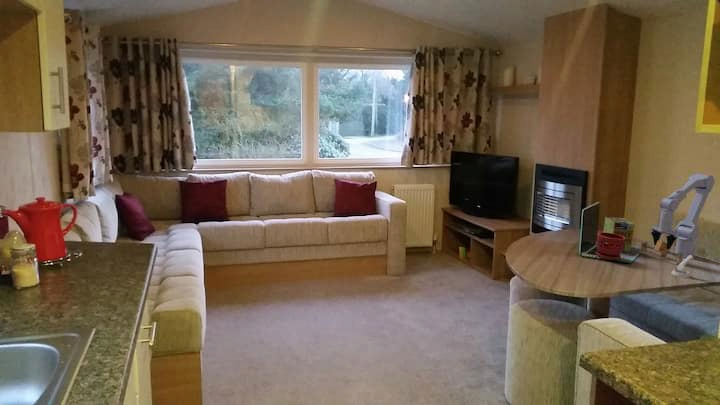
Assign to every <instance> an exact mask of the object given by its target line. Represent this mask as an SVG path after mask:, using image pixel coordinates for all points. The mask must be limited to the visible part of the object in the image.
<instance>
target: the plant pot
mask: <svg viewBox="0 0 720 405" xmlns="http://www.w3.org/2000/svg"><path fill="white" fill-rule="evenodd" d="M625 240H626V238H625V237H624V236H621V235H618V234H613V233H606V232H602V231H601V232H598V233H597V236H596V248H597V250H596V251H595V254H596V256H598V257H599V258H601V259H603V260H609V261H613V260H615V261H617V260H620V258H621V254H622V253H623V251H622V250H623V248H624V245H625ZM606 243H607V244H606ZM617 245H618V246H617Z"/></svg>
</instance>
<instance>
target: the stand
mask: <svg viewBox="0 0 720 405" xmlns="http://www.w3.org/2000/svg"><path fill="white" fill-rule="evenodd" d="M654 247H655V245H650V244H648V242H645V241H643V242H642V243H641V247H640V250H638V253H639V252H641V253H640V254H643V255H646V256H647V257H648V256H649V257H652V258H655V259H658V260H660V261H664V262H666V263H670V264H673V265H676V266H678V265H679V264H680V263H681V262H682V261H683V258H684V257H683V253H674V252H675V251H670V250H669V251H667V250H664V249H661V250H660V252H659V253H661V252H663V253H666V254H667V256H666V257H665V256H662V255H660V254H659V253H657V252H653V251H650V250H647V249H651V250H653V249H654ZM668 255H670V256H673V257H676V258H672V257H669V256H668Z"/></svg>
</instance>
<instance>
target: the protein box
mask: <svg viewBox="0 0 720 405" xmlns="http://www.w3.org/2000/svg"><path fill="white" fill-rule="evenodd" d="M634 230H635V223H633V222H632V221H630V220H629V219H628V218H624V217H613V216H611V217H610V216H605V217H604V226H603V232H606V233H613V234H618V235H621V236H624V237H625V238H626V240H625V245H624V248H623V250H622V252H627V251H630V252H631V249H632V243H633V235H634V232H635V231H634ZM606 244H607V243H606ZM617 246H618V245H617Z"/></svg>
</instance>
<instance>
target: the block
mask: <svg viewBox="0 0 720 405" xmlns="http://www.w3.org/2000/svg"><path fill="white" fill-rule="evenodd" d="M666 246H667V242H665V241H663V240H660V239H659V240H658V241H657V243H656V245H654V249H652V250H653V251H655V252H656V253H657V252H658V253H660V255H662V256H665V257H666V256H667V257H668V254H666V253H663V252H660V250H661V249H664V250H667V251H670V250H671V248H670V249H666Z"/></svg>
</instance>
